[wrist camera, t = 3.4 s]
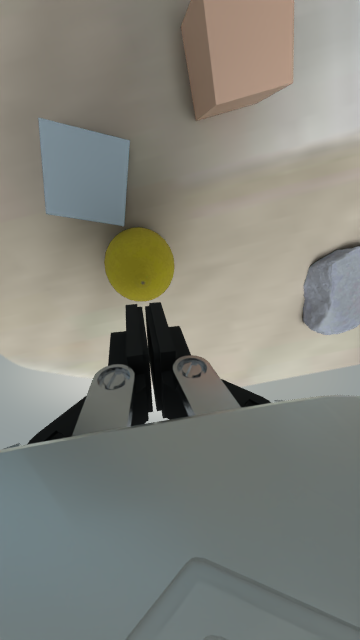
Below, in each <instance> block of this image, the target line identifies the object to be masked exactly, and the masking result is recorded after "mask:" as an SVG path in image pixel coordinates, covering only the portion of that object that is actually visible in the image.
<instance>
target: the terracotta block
mask: <svg viewBox="0 0 360 640" xmlns="http://www.w3.org/2000/svg"><path fill="white" fill-rule="evenodd" d="M181 31H182V37H183V43H184V50H185V56H186V62H187V68H188V74H189V81H190V87H191V93H192V99H193V105H194V112H195V118H196V121H198V120H201V119H205V118H208V117H212V116H215V115H219V114H222V113H225V112H229V111H232V110H236V109H239V108H243V107H246V106H249V105H253V104H256V103H258V102H260V101H262V100H263V99H265V98H267V97H269V96H271V95H272V94H274V93H276V92H278V91H280V90H281V89H283V88H285V87H287V86H288V85H290V84H292V83H293V50H294V0H191V1H190V4H189V6H188V9H187V12H186V14H185V17H184V20H183V23H182V25H181Z"/></svg>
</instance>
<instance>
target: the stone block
mask: <svg viewBox="0 0 360 640" xmlns="http://www.w3.org/2000/svg"><path fill="white" fill-rule="evenodd" d="M304 297H305V303H304V307H303V314H304V317H303V321H304V323H305V324H306V325H307V326H308V327H309V328H310V329H311V330H313V331H316V332H317V333H321V334H324V335H331V334H339V333H342V332H345V331H348V330H350V329H353V328H355V327H357V326H358V325H359V324H360V246H357V247H354V248H351V249H344V250H336V251H334V252H332V253H331V254H329V255H327V256H325V257H323V258H322V259H320V260H318V261H316V262H315V263H314V264H312V265H311V266H310V267H309V270H308V274H307V277H306V280H305V283H304Z"/></svg>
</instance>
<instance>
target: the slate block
mask: <svg viewBox="0 0 360 640" xmlns="http://www.w3.org/2000/svg"><path fill="white" fill-rule="evenodd" d="M38 119H39V131H40V144H41V156H42V169H43V181H44V194H45V206H46V214H50V215H56V216H63V217H69V218H75V219H82V220H88V221H94V222H101V223H107V224H113V225H120V226H124V221H125V206H126V191H127V176H128V161H129V146H130V140H126V139H122V138H118V137H114V136H110V135H106V134H102V133H98V132H94V131H90V130H86V129H82V128H78V127H74V126H70V125H66V124H62V123H58V122H54V121H50V120H46V119H42V118H38Z"/></svg>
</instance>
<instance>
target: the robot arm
mask: <svg viewBox="0 0 360 640" xmlns="http://www.w3.org/2000/svg"><path fill="white" fill-rule="evenodd" d="M145 310H146V325H147V338H146V331H145V325H144V318H143V311H142V307H137V304H133V305H126V331H124V332H114V333H111V338H110V350H109V363H108V366H107V367H104V368H103V369H101V370H99V371H98V372H97V373H96V374H95V376H94V378H93V380H92V383H91V386H90V388H89V391H88V394H87V396H86V397H84V398H83V399H82V400H80V401H79V402H78V403H77V404H75V405H74V406H72V407H71V408H70V409H69V410H67V411H66V412H65V413H63V414H62V415H61V416H59V417H58V418H57V419H56V420H54V421H53V422H52V423H50V424H49V425H48V426H46V427H45V428H44V429H43V430H41V431H40V432H39V433H38V434H36V435H35V436H34V437H33V438H32V439H31V440H30V441H29V443H28V444H27V445H23V446H21V444H20V443H19V444H16V445H13V446H10V447H7V448H4V449H2V450H0V640H360V396H349V395H331V396H318V397H310V398H303V399H294V400H288V401H282V400H281V401H280V400H275V402H274V403H271V402H270V401H269V400H267V399H265V398H263V397H261V396H259V395H256V394H254V393H252V392H250V391H248V390H245V389H243V388H241V387H238V386H236V385H234V384H231V383H229V382H227V381H225V380H222V379H220V377H219V376H218V375H217V373H216V372H215V370H214V369H213V368H212V366H211V365H210V363H209V362H208V361H207V360H205V359H204V358H202V357H199V356H193V355H191V354H190V352H189V349H188V346H187V344H186V341H185V339H184V336H183V334H182V331H181V328H180V327H179V326H175V327H168V324H167V321H166V318H165V315H164V311H163V308H162V305H161V302H158V303H149V306H145ZM147 339H148V345H147ZM149 361H150V362H149ZM150 368H151V375H152V382H153V388H154V395H155V402H156V409H157V411H161V410H162V416H163V418H168V419H170V420H166V421H159V422H153V423H148V424H145V423H146V421H148V412H153V406H152V393H151V377H150Z"/></svg>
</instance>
